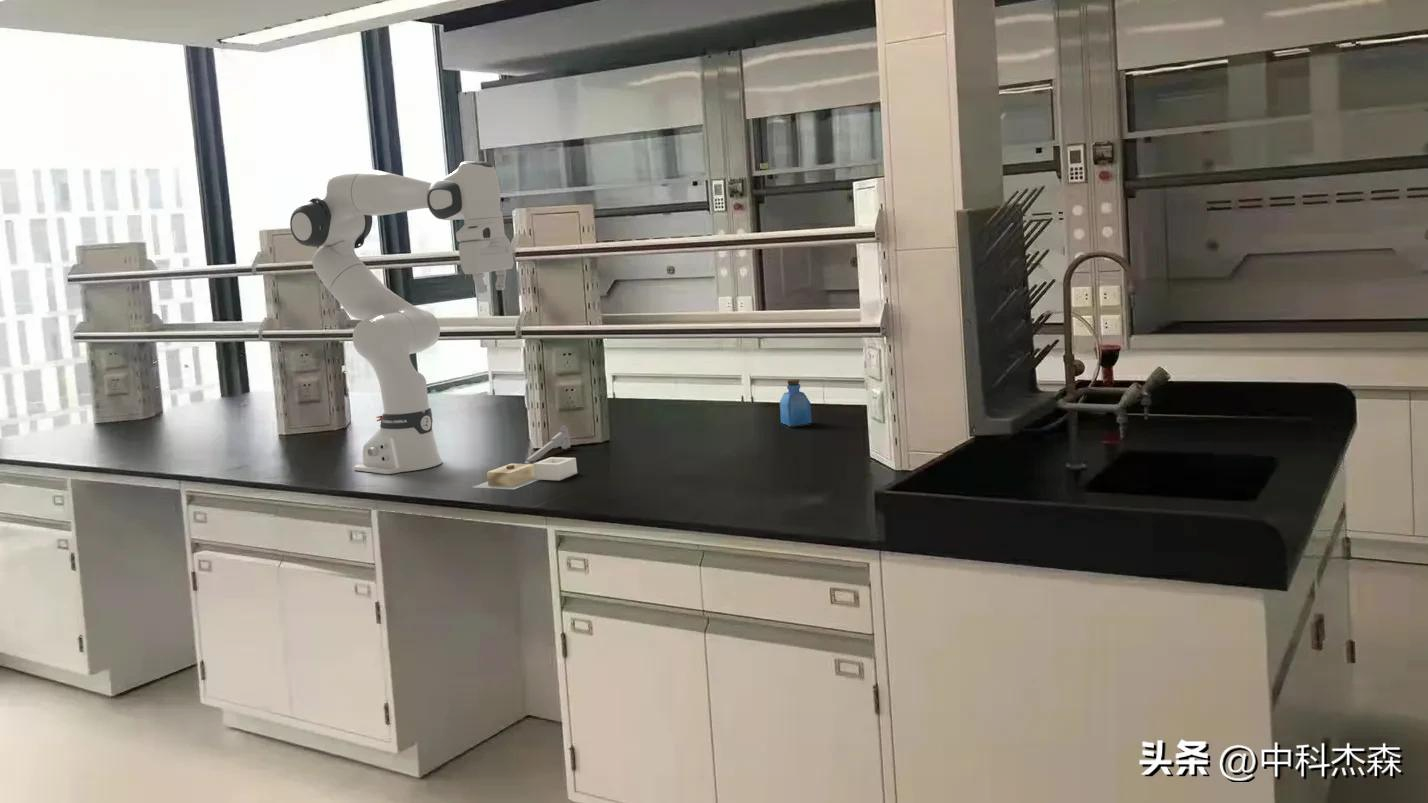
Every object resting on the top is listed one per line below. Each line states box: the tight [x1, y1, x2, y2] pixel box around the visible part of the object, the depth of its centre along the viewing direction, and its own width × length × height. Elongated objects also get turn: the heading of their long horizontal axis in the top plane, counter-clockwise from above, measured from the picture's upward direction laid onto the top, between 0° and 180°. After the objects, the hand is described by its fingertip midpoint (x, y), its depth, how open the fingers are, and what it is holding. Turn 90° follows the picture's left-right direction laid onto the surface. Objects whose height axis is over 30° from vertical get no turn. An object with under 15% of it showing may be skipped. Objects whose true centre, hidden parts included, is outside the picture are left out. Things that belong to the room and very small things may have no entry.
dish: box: [532, 456, 578, 481], centre depth 274 cm, size 7×7×4 cm
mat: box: [471, 478, 541, 490], centre depth 272 cm, size 12×14×1 cm
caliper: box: [524, 425, 571, 464], centre depth 301 cm, size 20×1×6 cm, turn 155°
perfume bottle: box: [779, 379, 812, 426], centre depth 316 cm, size 6×6×12 cm
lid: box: [486, 463, 534, 486], centre depth 272 cm, size 6×9×4 cm
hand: (491, 291), depth 278 cm, fingers open, 8 cm apart
